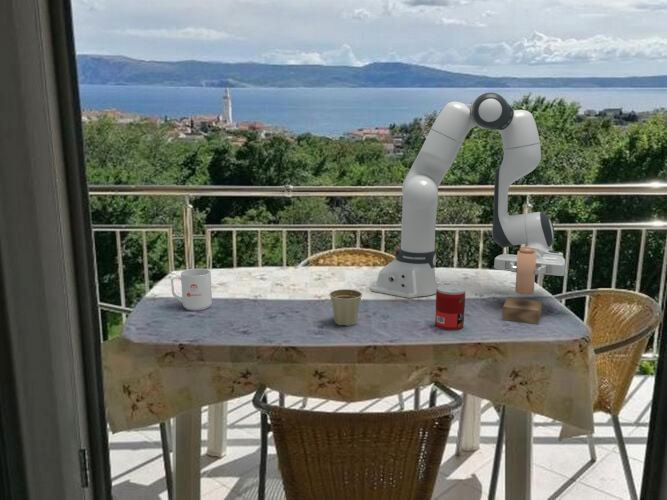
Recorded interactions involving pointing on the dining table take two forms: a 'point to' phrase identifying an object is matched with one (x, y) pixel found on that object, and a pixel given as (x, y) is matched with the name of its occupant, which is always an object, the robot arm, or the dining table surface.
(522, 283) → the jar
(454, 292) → the canned food
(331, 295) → the flower pot
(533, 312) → the pedestal
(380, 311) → the dining table surface
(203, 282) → the mug
